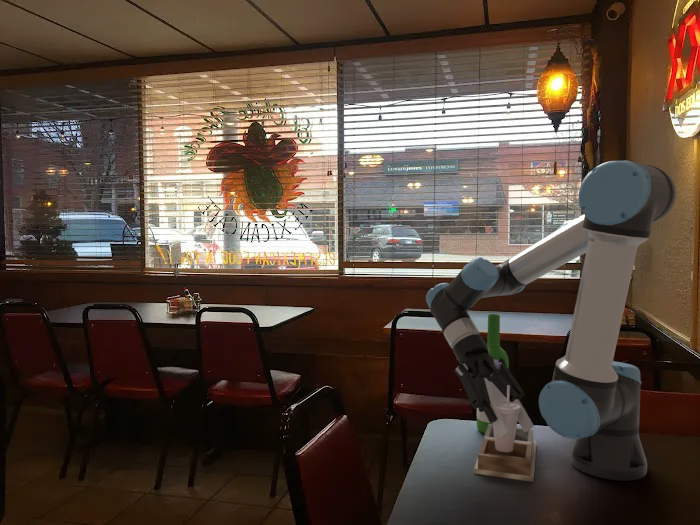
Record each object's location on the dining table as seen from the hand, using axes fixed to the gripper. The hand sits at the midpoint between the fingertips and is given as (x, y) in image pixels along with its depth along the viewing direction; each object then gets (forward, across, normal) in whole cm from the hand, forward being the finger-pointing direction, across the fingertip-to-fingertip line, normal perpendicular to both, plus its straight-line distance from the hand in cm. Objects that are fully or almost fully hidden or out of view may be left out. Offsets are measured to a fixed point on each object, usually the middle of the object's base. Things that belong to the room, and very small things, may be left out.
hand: (517, 431), depth 121 cm
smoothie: (+1, 0, -6) cm, 6 cm away
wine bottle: (-8, -14, -22) cm, 27 cm away
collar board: (+2, -4, -11) cm, 12 cm away
